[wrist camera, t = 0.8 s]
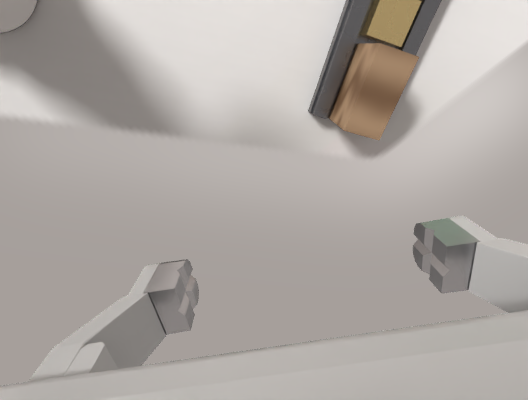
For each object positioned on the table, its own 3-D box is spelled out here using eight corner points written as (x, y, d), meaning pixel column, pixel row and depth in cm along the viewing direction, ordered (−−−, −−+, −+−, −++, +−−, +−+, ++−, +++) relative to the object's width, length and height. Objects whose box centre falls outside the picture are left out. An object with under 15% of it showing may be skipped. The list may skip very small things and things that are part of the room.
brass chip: (393, 47, 38) (401, 47, 36) (360, 35, 37) (366, 34, 35) (412, 3, 35) (421, 1, 34) (377, -11, 34) (385, -14, 33)
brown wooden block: (358, 126, 42) (379, 140, 36) (328, 118, 41) (344, 130, 35) (390, 55, 38) (419, 56, 32) (357, 43, 37) (380, 43, 31)
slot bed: (373, 129, 44) (379, 133, 42) (308, 111, 42) (311, 114, 40) (453, -45, 34) (467, -50, 32) (373, -81, 32) (383, -89, 30)
